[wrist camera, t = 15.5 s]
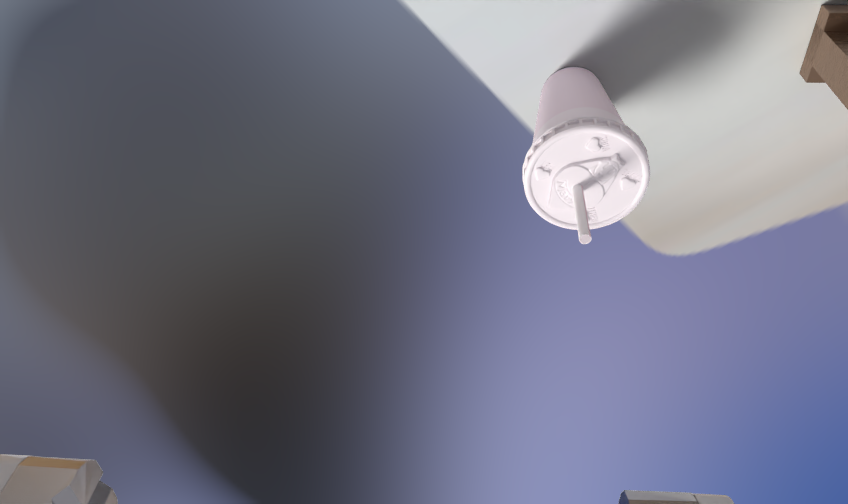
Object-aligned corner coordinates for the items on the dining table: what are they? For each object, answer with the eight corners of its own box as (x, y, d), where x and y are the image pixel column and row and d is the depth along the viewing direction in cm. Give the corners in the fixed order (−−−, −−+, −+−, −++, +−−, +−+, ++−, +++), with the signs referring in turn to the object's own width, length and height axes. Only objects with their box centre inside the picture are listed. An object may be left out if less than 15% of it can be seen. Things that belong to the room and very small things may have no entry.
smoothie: (497, 90, 43) (496, 225, 32) (584, 22, 40) (615, 147, 29) (560, 158, 46) (578, 305, 35) (646, 99, 43) (695, 240, 32)
